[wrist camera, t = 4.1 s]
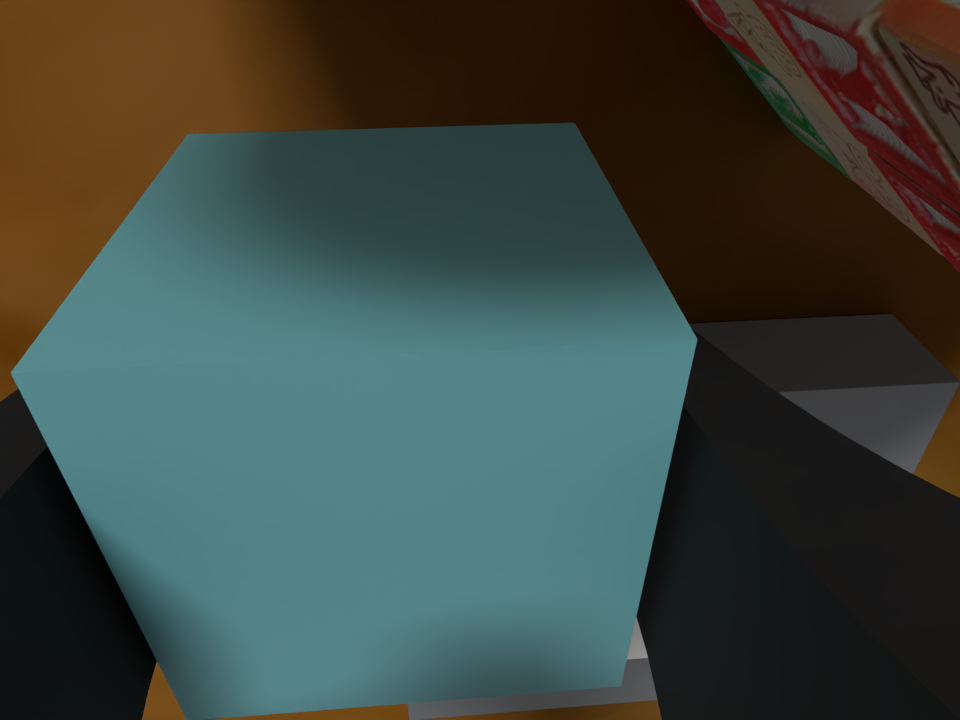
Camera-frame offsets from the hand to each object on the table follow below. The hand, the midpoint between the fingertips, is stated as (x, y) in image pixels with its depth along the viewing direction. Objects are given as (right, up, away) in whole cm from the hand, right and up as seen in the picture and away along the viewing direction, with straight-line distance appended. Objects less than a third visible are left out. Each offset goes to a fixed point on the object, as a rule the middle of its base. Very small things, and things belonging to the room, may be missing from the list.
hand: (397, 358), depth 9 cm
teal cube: (0, +1, +1) cm, 2 cm away
